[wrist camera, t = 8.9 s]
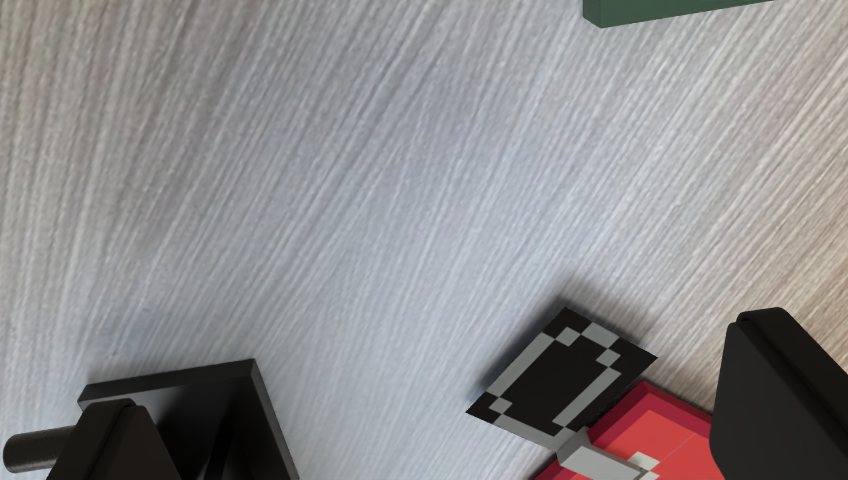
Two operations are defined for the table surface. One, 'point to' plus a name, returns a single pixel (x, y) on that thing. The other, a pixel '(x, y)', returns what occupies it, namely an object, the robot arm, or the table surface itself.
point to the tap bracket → (209, 420)
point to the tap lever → (35, 449)
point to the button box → (649, 9)
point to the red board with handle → (597, 409)
